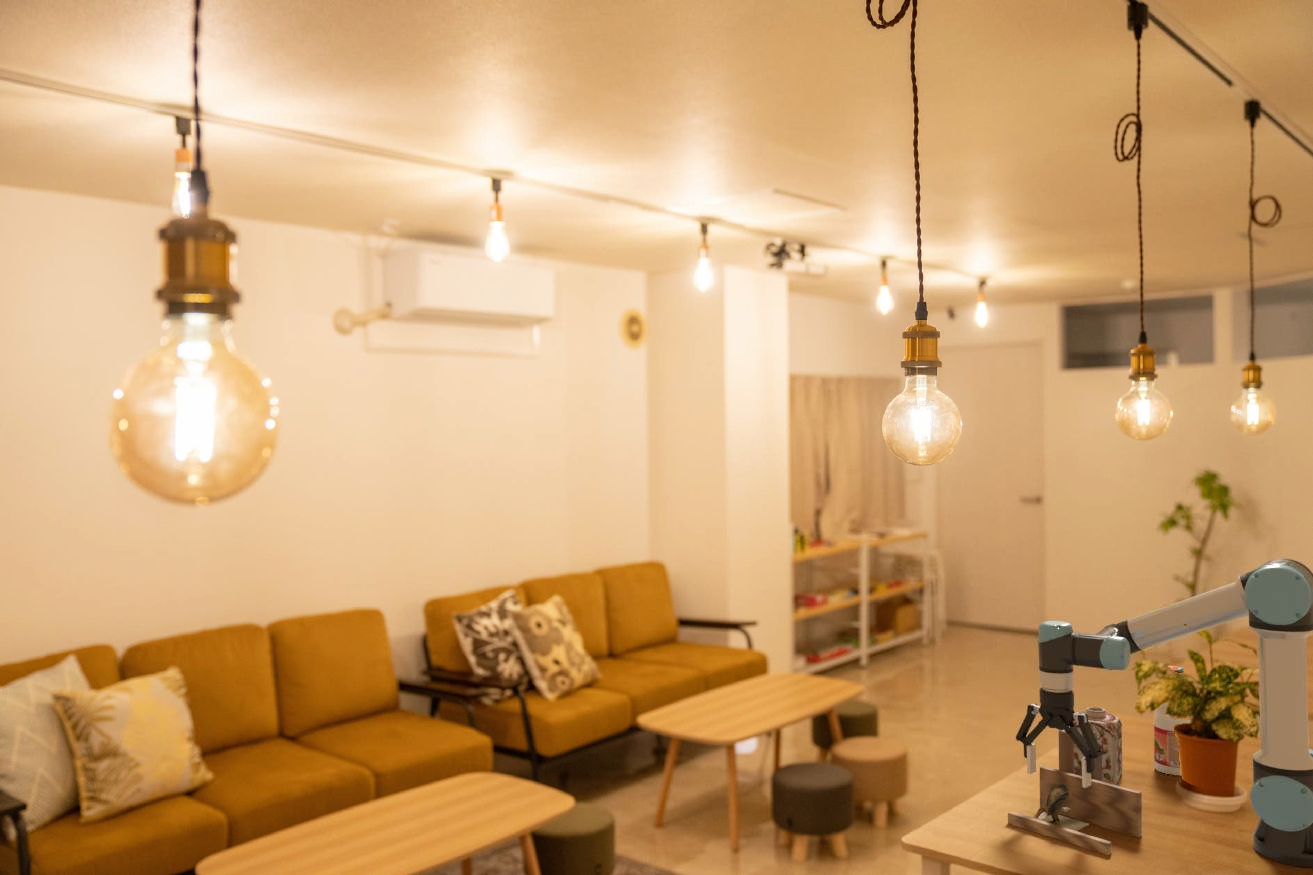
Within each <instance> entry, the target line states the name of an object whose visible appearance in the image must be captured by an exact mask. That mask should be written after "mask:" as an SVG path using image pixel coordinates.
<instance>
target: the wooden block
mask: <svg viewBox="0 0 1313 875" xmlns="http://www.w3.org/2000/svg"><path fill="white" fill-rule="evenodd" d="M1058 770H1060V771H1064V772H1068V773H1072V774H1075V775H1079V776H1082V766H1081V767H1080V768H1078V769H1077V770H1076V771H1075V772H1074V741H1073V740H1072V738H1071V737H1070V735H1069V734H1067V733H1066V732H1065V730H1058ZM1091 779H1094V780H1098V781H1102V756H1100V757H1098V758H1095V759H1094V772H1093V773H1091Z"/></svg>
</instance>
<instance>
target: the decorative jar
mask: <svg viewBox="0 0 1313 875" xmlns="http://www.w3.org/2000/svg"><path fill="white" fill-rule="evenodd" d="M1083 713H1086V714H1087V715H1088V721H1089V725H1090V727H1091V729H1092V731H1093V733H1094V736H1095V738H1096V740H1097V742H1098V744H1099V746H1100V749H1101V751H1102V753H1103V755H1102V782H1106V783H1109V784H1113V785H1117V784H1118V782H1119V781H1120V778H1121V776H1122V774H1123V729H1122V728H1123V727H1122V726H1123V723H1122V722H1121V719H1120V718H1119V717H1117V716H1115V715H1113V714H1111V713H1107V712H1106V709H1105V708H1103V707H1096V706H1090V707H1089V706H1088V707H1086V709H1085V710H1084V711H1076V712H1075V714H1083ZM1073 722H1074V723H1075V725H1076V726H1077V730H1078V731H1079V732H1080V734H1081V735H1082V737H1083V738H1084V736H1083V734H1082V732H1081V730H1080V727H1079V724H1078V723H1077V722H1076V719H1074V721H1073ZM1084 739H1085V738H1084ZM1085 741H1086V740H1085ZM1082 758H1084V755H1083V754H1082V752H1081V751H1080V750H1079V748H1078V747H1077V745H1076V744H1075V743H1074V772H1075V771H1076V770H1077V769H1078V768H1080V767H1081V766H1082Z"/></svg>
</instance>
